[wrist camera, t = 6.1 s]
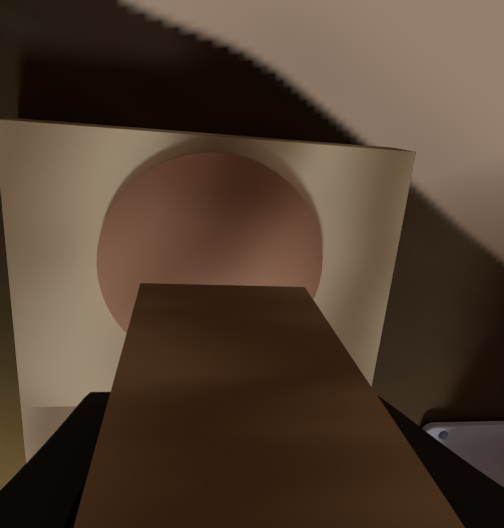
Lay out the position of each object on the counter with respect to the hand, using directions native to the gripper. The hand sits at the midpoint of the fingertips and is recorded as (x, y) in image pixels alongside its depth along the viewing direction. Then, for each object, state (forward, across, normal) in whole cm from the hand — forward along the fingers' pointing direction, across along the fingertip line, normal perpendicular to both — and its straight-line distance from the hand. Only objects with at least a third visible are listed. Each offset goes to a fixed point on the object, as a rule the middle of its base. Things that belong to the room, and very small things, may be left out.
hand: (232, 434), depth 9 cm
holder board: (+10, 0, +4) cm, 11 cm away
